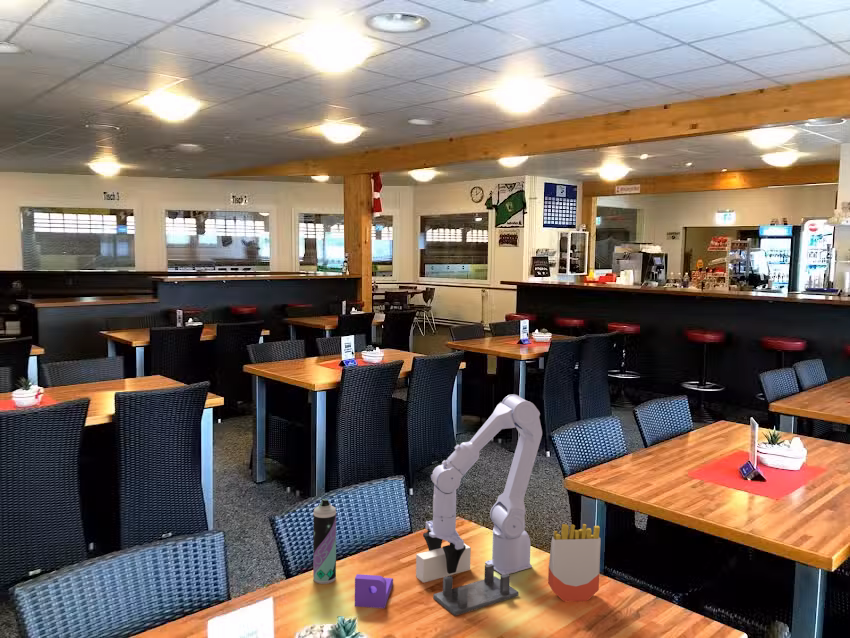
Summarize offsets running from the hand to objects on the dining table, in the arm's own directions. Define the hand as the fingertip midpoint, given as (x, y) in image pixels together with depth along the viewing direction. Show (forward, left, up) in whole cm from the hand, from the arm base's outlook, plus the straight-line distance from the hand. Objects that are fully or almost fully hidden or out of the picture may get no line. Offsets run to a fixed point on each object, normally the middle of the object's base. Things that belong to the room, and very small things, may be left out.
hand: (443, 566), depth 168 cm
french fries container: (-20, +25, -2) cm, 32 cm away
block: (0, 0, -2) cm, 2 cm away
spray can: (+27, -12, -2) cm, 30 cm away
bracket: (+20, +1, -2) cm, 20 cm away
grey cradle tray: (0, +14, -2) cm, 14 cm away
